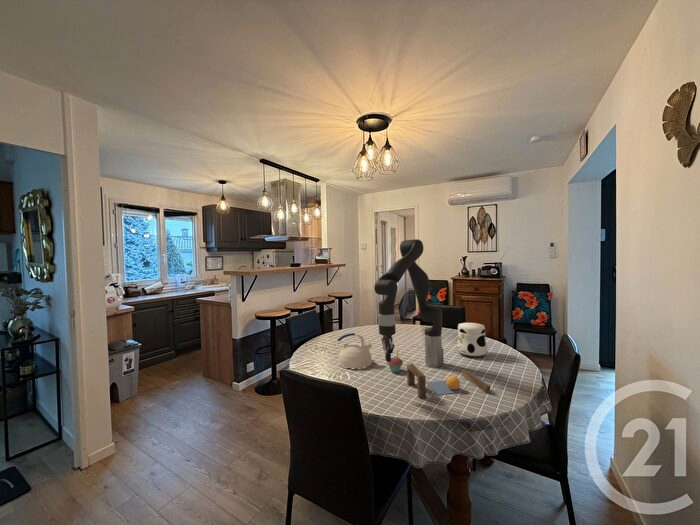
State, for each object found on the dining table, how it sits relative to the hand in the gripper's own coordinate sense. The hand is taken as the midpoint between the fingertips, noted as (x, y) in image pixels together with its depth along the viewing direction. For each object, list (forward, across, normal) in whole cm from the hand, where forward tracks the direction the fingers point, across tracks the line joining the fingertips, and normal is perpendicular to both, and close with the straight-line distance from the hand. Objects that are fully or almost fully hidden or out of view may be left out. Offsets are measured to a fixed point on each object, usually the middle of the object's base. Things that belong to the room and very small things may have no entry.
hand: (388, 361), depth 135 cm
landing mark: (+15, 0, -27) cm, 31 cm away
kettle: (+15, +42, +8) cm, 45 cm away
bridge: (+15, 0, -13) cm, 20 cm away
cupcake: (+15, +25, -11) cm, 31 cm away
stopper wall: (+15, 0, -43) cm, 46 cm away
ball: (+12, -3, -30) cm, 32 cm away
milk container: (+15, +38, -65) cm, 77 cm away
